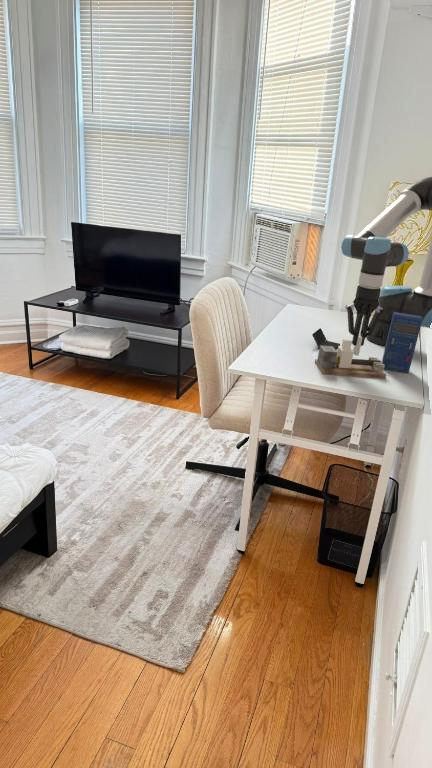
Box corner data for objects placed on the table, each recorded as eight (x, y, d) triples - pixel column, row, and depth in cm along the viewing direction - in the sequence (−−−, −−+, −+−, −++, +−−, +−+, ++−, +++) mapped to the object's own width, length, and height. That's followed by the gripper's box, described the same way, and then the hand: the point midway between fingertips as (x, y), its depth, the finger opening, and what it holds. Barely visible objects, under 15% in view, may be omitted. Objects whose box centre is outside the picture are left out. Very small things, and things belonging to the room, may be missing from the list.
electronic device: (381, 369, 187) (394, 314, 179) (380, 364, 192) (393, 311, 184) (408, 374, 185) (423, 319, 177) (407, 369, 190) (421, 315, 182)
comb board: (374, 366, 189) (378, 347, 186) (385, 378, 179) (390, 358, 176) (314, 362, 187) (318, 343, 184) (322, 373, 177) (326, 353, 174)
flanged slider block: (346, 363, 184) (351, 338, 181) (350, 368, 180) (355, 343, 176) (334, 362, 184) (339, 337, 180) (338, 367, 180) (344, 342, 176)
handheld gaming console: (339, 349, 198) (327, 326, 198) (322, 358, 201) (309, 334, 200) (341, 345, 209) (329, 323, 209) (325, 353, 212) (313, 331, 211)
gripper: (384, 285, 176) (369, 351, 185) (346, 282, 174) (334, 349, 183) (392, 290, 169) (377, 359, 178) (354, 287, 167) (340, 356, 176)
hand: (355, 354), depth 181 cm, fingers closed
